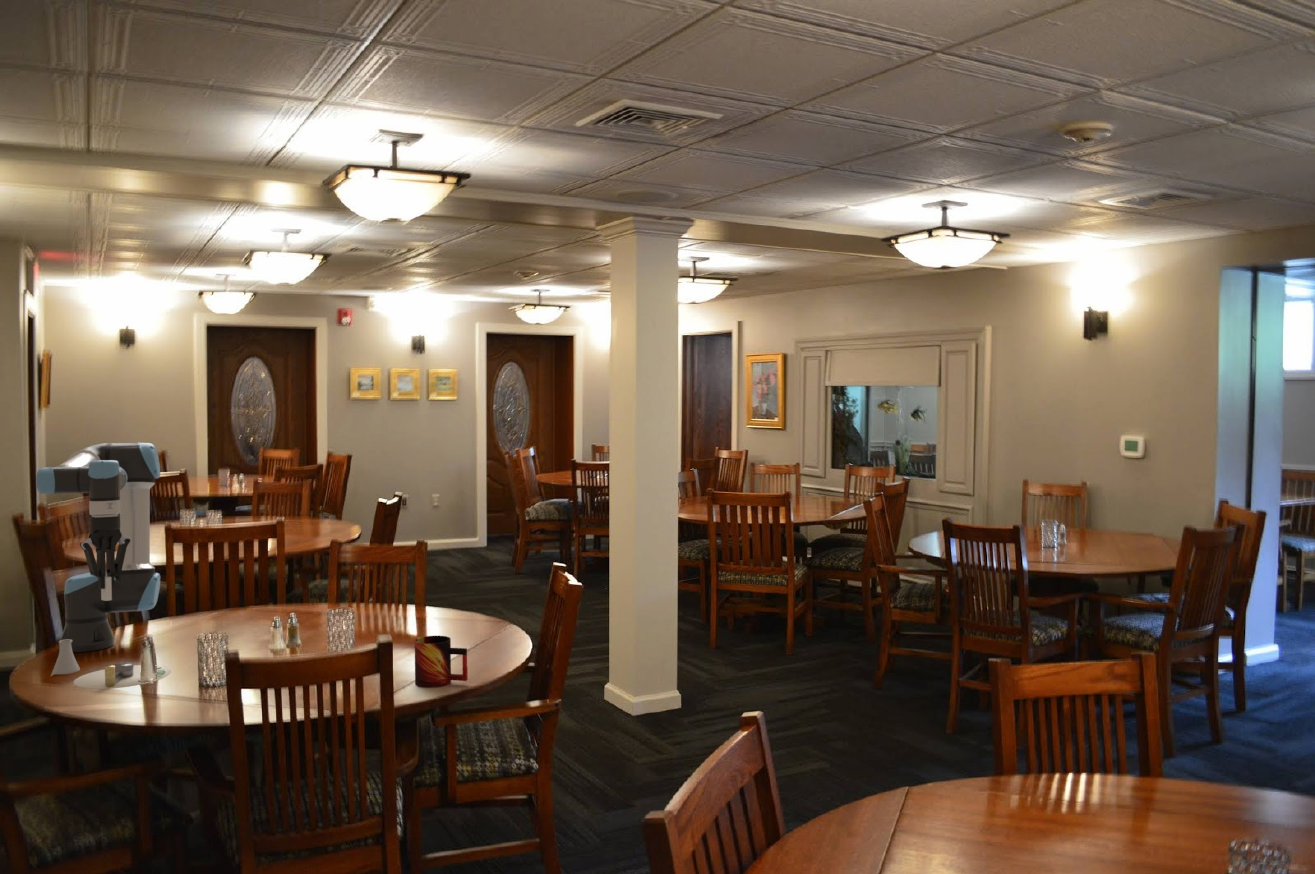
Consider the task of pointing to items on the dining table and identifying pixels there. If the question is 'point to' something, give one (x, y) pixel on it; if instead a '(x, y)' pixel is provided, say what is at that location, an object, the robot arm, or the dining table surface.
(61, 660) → the flask
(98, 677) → the dial board
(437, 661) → the mug
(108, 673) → the crank handle
